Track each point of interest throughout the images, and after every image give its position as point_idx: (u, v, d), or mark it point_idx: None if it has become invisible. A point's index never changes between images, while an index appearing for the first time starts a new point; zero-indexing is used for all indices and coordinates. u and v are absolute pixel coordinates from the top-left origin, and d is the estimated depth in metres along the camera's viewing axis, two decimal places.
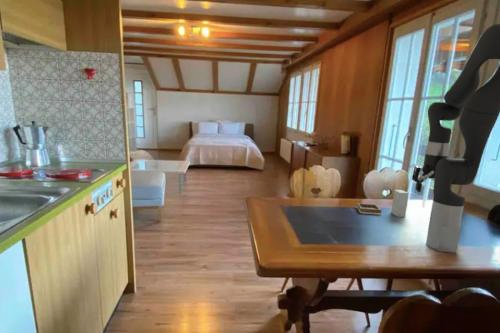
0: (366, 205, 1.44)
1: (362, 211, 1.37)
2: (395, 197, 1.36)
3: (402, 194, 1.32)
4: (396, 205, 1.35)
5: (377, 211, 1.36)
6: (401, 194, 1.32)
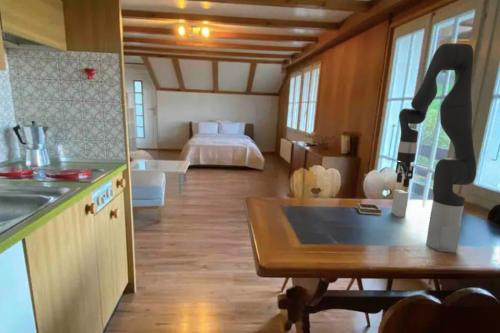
0: (366, 205, 1.44)
1: (362, 211, 1.37)
2: (395, 197, 1.36)
3: (402, 194, 1.32)
4: (396, 205, 1.35)
5: (377, 211, 1.36)
6: (401, 194, 1.32)
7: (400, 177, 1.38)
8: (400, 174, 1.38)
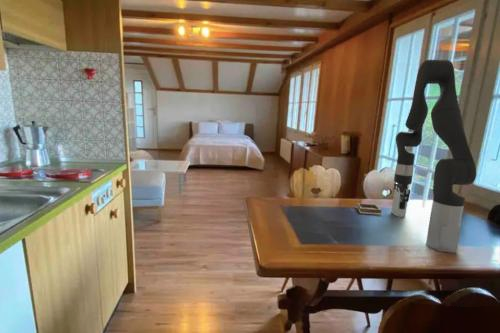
0: (366, 205, 1.44)
1: (362, 211, 1.37)
2: (395, 197, 1.36)
3: (402, 194, 1.32)
4: (396, 205, 1.35)
5: (377, 211, 1.36)
6: (401, 194, 1.32)
7: None
8: None
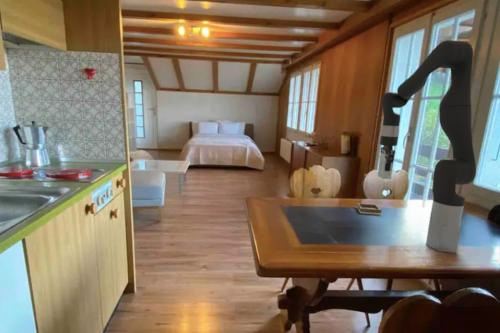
0: (366, 205, 1.44)
1: (362, 211, 1.37)
2: (381, 160, 1.36)
3: (387, 156, 1.32)
4: (382, 167, 1.35)
5: (377, 211, 1.36)
6: None
7: None
8: None
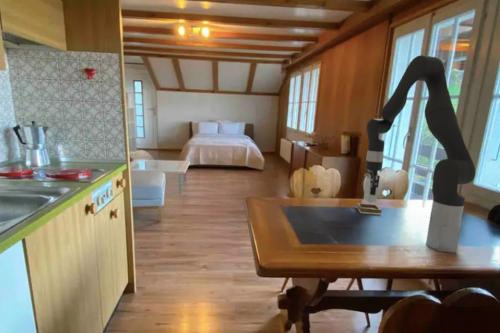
0: (366, 205, 1.44)
1: (362, 211, 1.37)
2: (367, 183, 1.39)
3: None
4: (367, 191, 1.38)
5: (377, 211, 1.36)
6: (372, 180, 1.35)
7: None
8: None
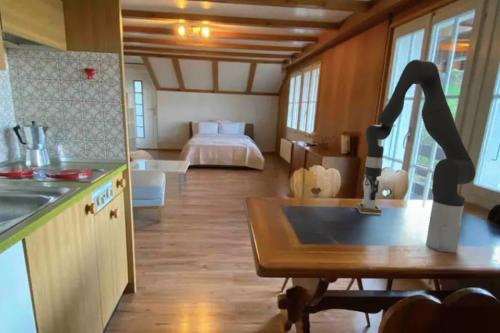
0: None
1: (362, 211, 1.37)
2: (365, 192, 1.40)
3: None
4: (366, 200, 1.39)
5: (377, 211, 1.36)
6: (370, 189, 1.36)
7: None
8: None
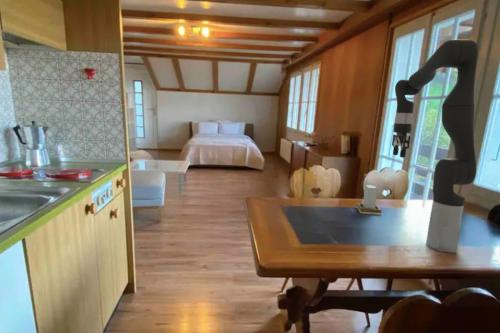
0: None
1: (362, 211, 1.37)
2: (365, 192, 1.40)
3: (371, 189, 1.36)
4: (366, 200, 1.39)
5: (377, 211, 1.36)
6: (370, 189, 1.36)
7: (396, 149, 1.40)
8: (396, 146, 1.40)
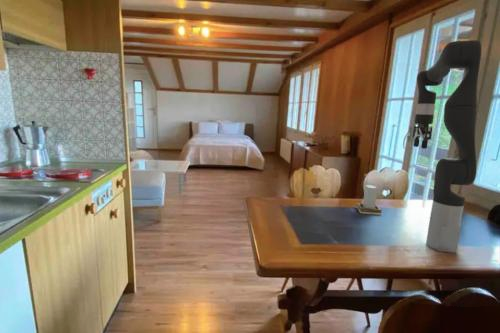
0: None
1: (362, 211, 1.37)
2: (365, 192, 1.40)
3: (371, 189, 1.36)
4: (366, 200, 1.39)
5: (377, 211, 1.36)
6: (370, 189, 1.36)
7: (417, 141, 1.39)
8: (417, 138, 1.39)
